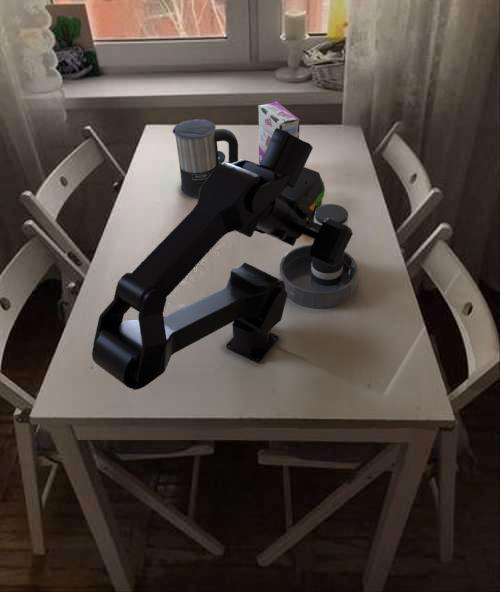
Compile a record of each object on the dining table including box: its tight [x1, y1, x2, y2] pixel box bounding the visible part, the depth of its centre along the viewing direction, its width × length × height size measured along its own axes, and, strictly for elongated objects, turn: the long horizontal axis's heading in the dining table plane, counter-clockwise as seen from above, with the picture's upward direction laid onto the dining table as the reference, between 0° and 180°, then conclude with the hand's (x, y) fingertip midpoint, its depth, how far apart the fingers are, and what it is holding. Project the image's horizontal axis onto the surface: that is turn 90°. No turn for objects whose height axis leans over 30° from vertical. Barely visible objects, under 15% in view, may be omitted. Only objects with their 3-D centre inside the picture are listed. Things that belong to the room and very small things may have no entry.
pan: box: [279, 243, 359, 309], centre depth 103 cm, size 14×14×4 cm
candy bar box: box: [257, 101, 301, 164], centre depth 128 cm, size 11×5×16 cm, turn 25°
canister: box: [311, 203, 349, 286], centre depth 101 cm, size 6×6×14 cm
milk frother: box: [172, 118, 239, 198], centre depth 129 cm, size 14×16×15 cm
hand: (312, 238), depth 95 cm, fingers open, 9 cm apart
